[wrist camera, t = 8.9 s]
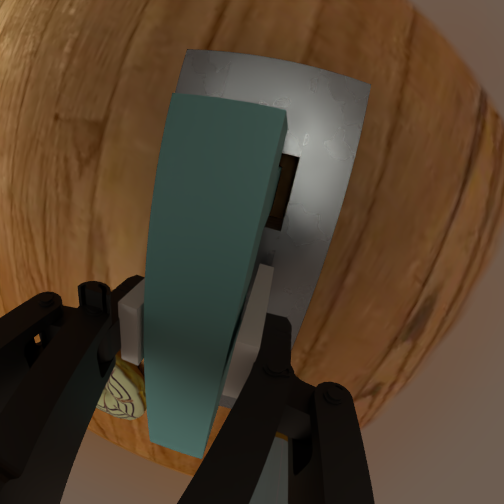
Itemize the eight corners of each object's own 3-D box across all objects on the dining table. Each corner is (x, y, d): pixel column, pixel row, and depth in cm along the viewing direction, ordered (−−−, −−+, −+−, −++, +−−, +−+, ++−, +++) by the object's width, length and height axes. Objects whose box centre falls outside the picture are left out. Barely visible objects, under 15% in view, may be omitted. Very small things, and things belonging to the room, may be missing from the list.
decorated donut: (62, 322, 24) (42, 340, 21) (139, 338, 23) (119, 363, 19) (92, 389, 28) (78, 408, 24) (164, 410, 26) (152, 434, 23)
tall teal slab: (240, 128, 16) (172, 92, 6) (289, 139, 15) (286, 109, 6) (198, 341, 21) (150, 441, 12) (235, 352, 21) (201, 458, 12)
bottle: (306, 437, 24) (299, 559, 10) (271, 459, 27) (256, 561, 13) (251, 417, 24) (222, 550, 10) (221, 441, 27) (190, 548, 12)
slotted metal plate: (203, 64, 15) (187, 49, 12) (358, 96, 14) (370, 84, 11) (159, 359, 23) (146, 380, 20) (265, 390, 22) (262, 416, 20)
